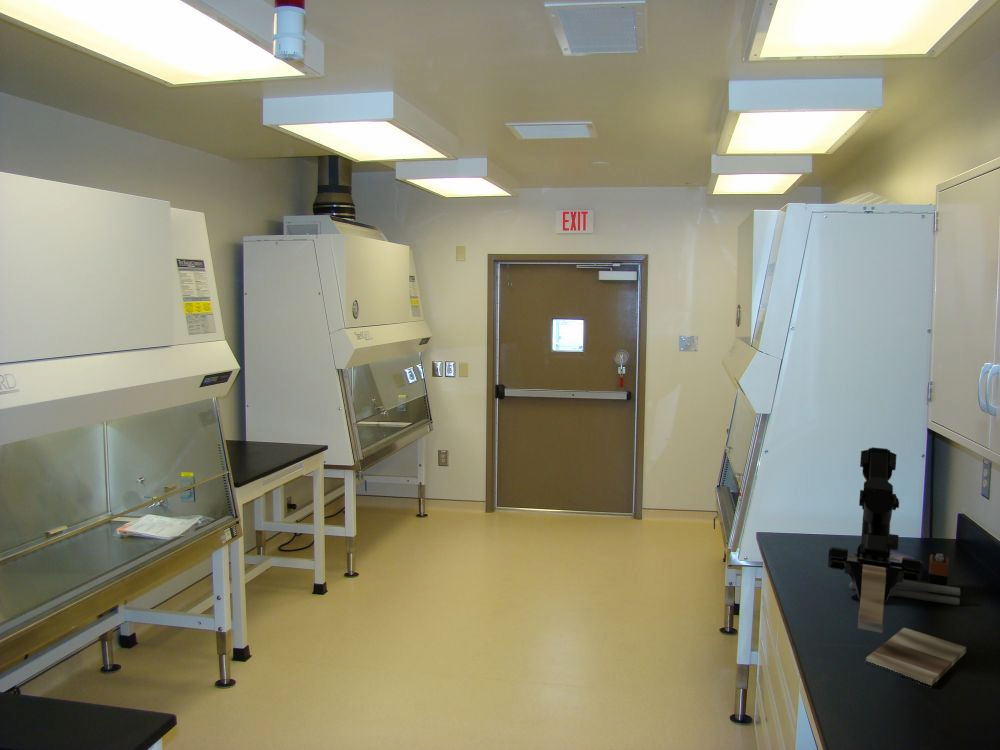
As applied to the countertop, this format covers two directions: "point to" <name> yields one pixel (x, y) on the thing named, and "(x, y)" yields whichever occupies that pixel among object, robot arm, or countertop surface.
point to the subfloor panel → (917, 655)
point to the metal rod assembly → (923, 595)
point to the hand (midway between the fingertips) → (872, 599)
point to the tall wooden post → (872, 598)
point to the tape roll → (898, 557)
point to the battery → (938, 570)
